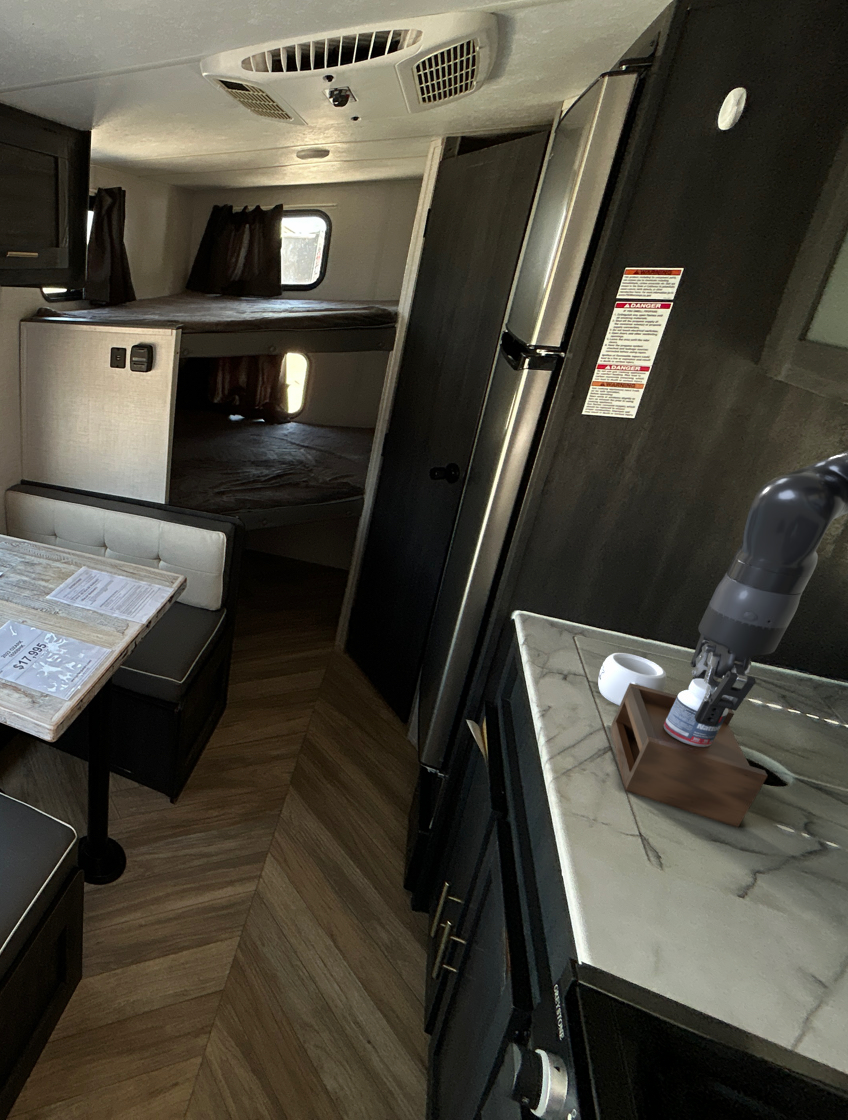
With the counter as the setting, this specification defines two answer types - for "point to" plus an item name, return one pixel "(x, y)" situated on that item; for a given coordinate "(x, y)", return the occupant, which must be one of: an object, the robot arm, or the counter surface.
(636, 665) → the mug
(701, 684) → the pill bottle
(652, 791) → the box
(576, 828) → the counter surface
